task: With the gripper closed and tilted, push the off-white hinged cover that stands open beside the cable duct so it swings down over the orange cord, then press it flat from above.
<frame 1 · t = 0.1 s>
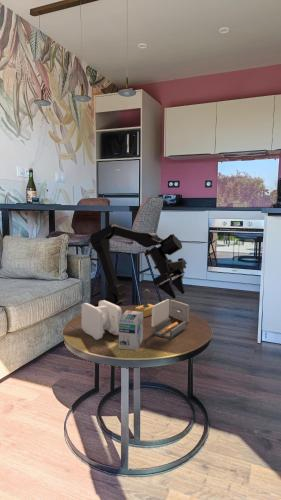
hand: (179, 295, 131), 15 cm above the table, tool tilted 35°, fingers open, 9 cm apart
cable duct: (169, 331, 133), on the table
rubber stamp: (145, 314, 156), on the table
duct cover: (160, 312, 134), point 7 cm above the table, hinge at 90.0°
cable organizer: (100, 333, 129), on the table
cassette: (178, 319, 150), on the table
light bulb box: (130, 344, 119), on the table
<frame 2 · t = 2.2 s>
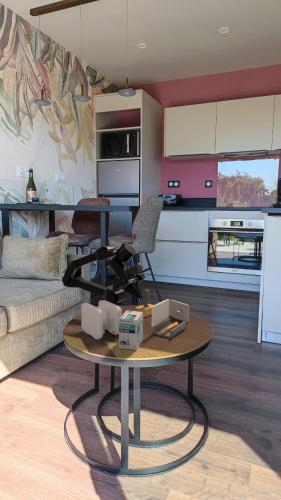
hand: (141, 298, 139), 12 cm above the table, tool tilted 45°, fingers closed
nothing on the table moved.
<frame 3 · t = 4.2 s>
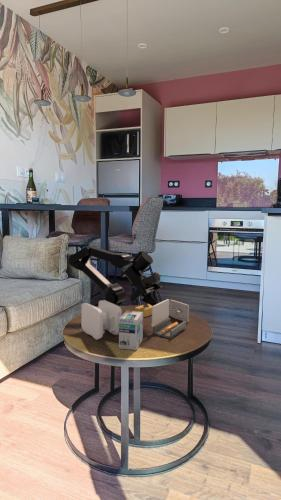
hand: (159, 308, 135), 9 cm above the table, tool tilted 45°, fingers closed, pressing on duct cover
duct cover: (160, 312, 134), point 7 cm above the table, hinge at 90.0°, touching gripper
everything else where it was.
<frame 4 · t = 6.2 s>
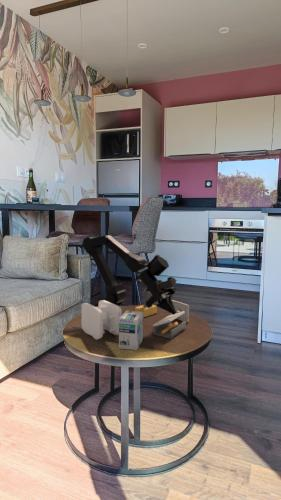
hand: (175, 313, 131), 8 cm above the table, tool tilted 45°, fingers closed
duct cover: (169, 318, 133), point 5 cm above the table, hinge at 25.5°
everything else where it was.
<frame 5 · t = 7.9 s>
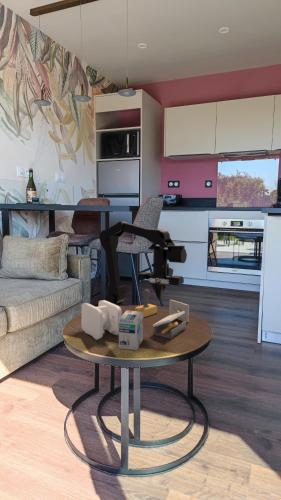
hand: (159, 299, 134), 12 cm above the table, tool pointing down, fingers closed
nothing on the table moved.
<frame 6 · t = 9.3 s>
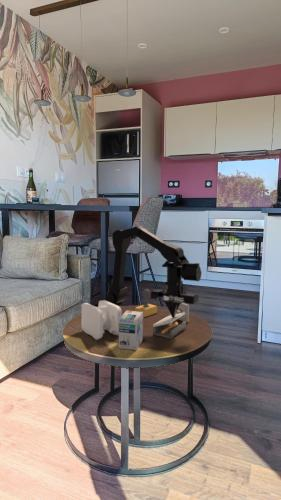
hand: (173, 317, 132), 6 cm above the table, tool pointing down, fingers closed, pressing on duct cover
duct cover: (169, 319, 133), point 5 cm above the table, hinge at 21.2°, touching gripper
everything else where it was.
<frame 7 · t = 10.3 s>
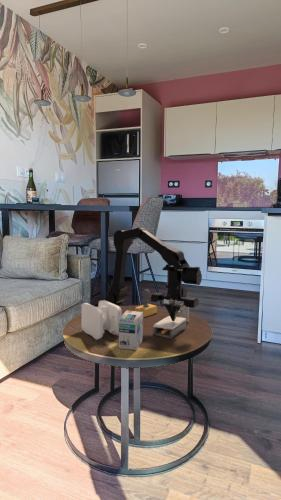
hand: (173, 320, 132), 5 cm above the table, tool pointing down, fingers closed
duct cover: (170, 322, 133), point 4 cm above the table, hinge at 3.0°
everything else where it was.
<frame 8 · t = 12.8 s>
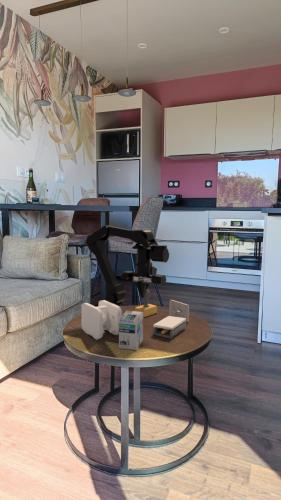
hand: (142, 297, 138), 12 cm above the table, tool pointing down, fingers closed
nothing on the table moved.
at the end: duct cover at +3° (first picture: +90°); light bulb box moved 0.3 cm from its start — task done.
